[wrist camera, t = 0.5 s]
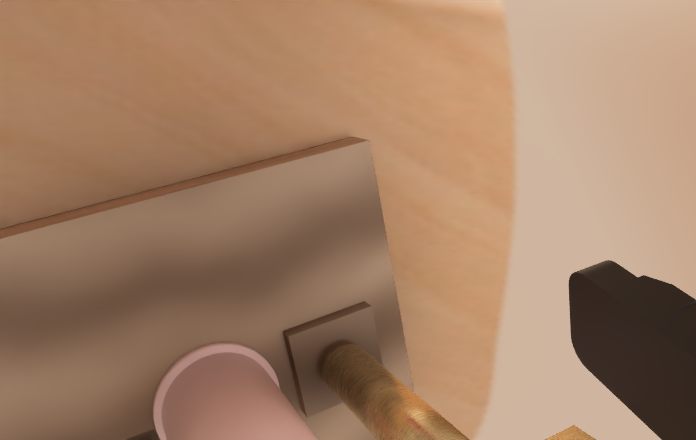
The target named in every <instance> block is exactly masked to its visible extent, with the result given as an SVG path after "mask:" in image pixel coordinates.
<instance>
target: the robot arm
mask: <svg viewBox="0 0 696 440" xmlns="http://www.w3.org/2000/svg"><path fill="white" fill-rule="evenodd" d="M569 301H570V323H571V339H572V343H573V347H574V349H575V352H576V354H577V356H578V357H579V359H580V361H581V362H582V363H583V365H584V366H585V367H586V368H587V369H588V370H589V371H590V372H591V373H592V374H593V375H594V376H596V378H597V379H598V380H599V381H601V382H602V383H603V384H604V385H605V386H606V387H607V388H608V389H609V390H610V391H611V392H612V393H613V394H614V395H615V396H616V397H618V399H620V400H621V401H622V402H623V403H624V404H625V405H626V406H627V407H628V408H629V409H630V410H631V411H632V412H633V413H634V414H635V415H636V416H637V417H638V418H640V419H641V420H642V421H643V422H644V423H645V424H646V425H647V426H648V427H649V428H650V429H651V430H652V431H653V432H654V433H655V434H656V435H657V436H659V437H660V438H661V439H662V440H696V300H695V299H694V298H692V297H691V296H689V295H688V294H686V293H685V292H683V291H682V290H680V289H678V288H677V287H675V286H674V285H672V284H669V283H666V282H663V281H659V280H657V279H653V278H650V277H647V276H644V275H643V276H641V277H638V278H637V277H636V276H635V275H633V274H632V273H630V272H629V271H627V270H625V269H624V268H623V267H621V266H620V265H618V264H617V263H615V262H613V261H609V260H608V261H604V262H601V263H599V264H596V265H593V266H591V267H588V268H585V269H583V270H580V271H577V272H575V273H573V274H572V275H571V276H570V279H569ZM125 440H160V438H159V436H158V434H157V433H156V431H155V430H154V429H152V430H149V431H146V432H144V433H141V434H138V435H136V436H133V437H130V438H128V439H125Z"/></svg>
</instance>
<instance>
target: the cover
mask: <svg viewBox="0 0 696 440" xmlns="http://www.w3.org/2000/svg"><path fill="white" fill-rule="evenodd" d="M152 411H153V420H154V424H155V428H156V431H157V433H158V436H159V438H160V440H318V439H317V438H316V436H315V435H314V434H313V432H312V431H311V430H310V428H309V427H308V426H307V424H306V423H305V422H304V420H303V419H302V418H301V416H300V415H299V414H298V412H297V411H296V410H295V408H294V407H293V406H292V404H291V403H290V402H289V400H288V399H287V398H286V397H285V395H284V394H283V393H282V391H281V390H280V387H279V382H278V379H277V376H276V374H275V372H274V370H273V369H272V367H271V366H270V364H269V363H268V362H267V360H266V359H265V358H264V357H263V356H262V355H261V354H260V353H258V352H257V351H256V350H254V349H253V348H251V347H249V346H246V345H244V344H241V343H236V342H228V341H222V342H213V343H208V344H205V345H201V346H199V347H197V348H194V349H192V350H191V351H189V352H187V353H185V354H184V355H183V356H181V357H180V358H179V359H177V360H176V361H175V362H174V363H173V364H172V365H171V366H170V367H169V369H168V370H167V371H166V372H165V374H164V375H163V377H162V378H161V380H160V382H159V384H158V386H157V389H156V392H155V395H154V399H153V408H152Z"/></svg>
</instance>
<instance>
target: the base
mask: <svg viewBox="0 0 696 440" xmlns="http://www.w3.org/2000/svg"><path fill="white" fill-rule="evenodd" d="M222 341H228V342H236V343H241V344H244V345H246V346H249V347H251V348H253V349H254V350H256V351H257V352H258V353H260V354H261V355H262V356H263V357H264V358H265V359H266V360H267V362H268V363H269V364H270V366H271V367H272V369H273V370H274V372H275V374H276V376H277V379H278V382H279V387H280V390H281V391H282V393H283V394H284V395H285V397H286V398H287V399H288V400H289V402H290V403H291V404H292V406H293V407H294V408H295V410H296V411H297V412H298V414H299V415H300V416H301V418H302V419H303V420H304V422H305V423H306V424H307V426H308V427H309V428H310V430H311V431H312V432H313V434H314V435H315V436H316V438H317V439H318V440H377V439H376V438H375V437H374V436H373V435H372V434H371V432H370V431H369V430H368V429H367V428H366V427H365V426H364V425H363V424H362V423H361V422H360V420H359V419H358V418H357V417H356V416H355V415H354V414H353V413H352V412H351V411H350V410H349V408H348V407H347V406H346V405H345V404H344V403H343V402H342V401H341V400H340V399H339V398H338V396H337V395H336V394H335V393H334V392H333V391H332V390H331V389H330V388H329V387H328V386H327V384H326V383H325V382H324V379H323V376H322V367H323V363H324V361H325V359H326V357H327V355H328V354H329V353H330V352H331V351H332V350H333V349H334V348H336V347H337V346H339V345H342V344H346V343H352V344H356V345H358V346H360V347H361V348H362V349H364V350H365V351H366V352H367V353H368V354H370V355H371V356H372V357H373V358H374V359H375V360H377V361H378V362H379V363H380V364H381V365H382V366H384V367H385V368H386V369H387V370H388V371H390V372H391V373H392V374H393V375H394V376H395V377H397V378H398V379H399V380H400V381H401V382H402V383H404V384H405V385H406V386H407V387H408V388H409V389H411V390H412V391H413V392H414V390H413V384H412V378H411V373H410V367H409V361H408V356H407V350H406V344H405V339H404V333H403V327H402V322H401V316H400V310H399V305H398V299H397V293H396V288H395V282H394V276H393V271H392V265H391V259H390V254H389V248H388V242H387V237H386V231H385V225H384V220H383V214H382V208H381V203H380V197H379V191H378V186H377V180H376V174H375V169H374V163H373V157H372V152H371V146H370V140H365V139H360V138H355V137H350V138H346V139H342V140H339V141H335V142H331V143H327V144H323V145H320V146H316V147H312V148H308V149H304V150H301V151H297V152H293V153H289V154H285V155H282V156H278V157H274V158H270V159H266V160H262V161H259V162H255V163H251V164H247V165H243V166H240V167H236V168H232V169H228V170H224V171H221V172H217V173H213V174H209V175H205V176H202V177H198V178H194V179H190V180H186V181H182V182H179V183H175V184H171V185H167V186H163V187H160V188H156V189H152V190H148V191H144V192H141V193H137V194H133V195H129V196H125V197H121V198H118V199H114V200H110V201H106V202H102V203H99V204H95V205H91V206H87V207H83V208H80V209H76V210H72V211H68V212H64V213H61V214H57V215H53V216H49V217H45V218H41V219H38V220H34V221H30V222H26V223H22V224H19V225H15V226H11V227H7V228H3V229H0V440H125V439H128V438H130V437H133V436H136V435H138V434H141V433H144V432H146V431H149V430H152V429H154V430H155V431H156V428H155V424H154V420H153V411H152V408H153V399H154V395H155V392H156V389H157V386H158V384H159V382H160V380H161V378H162V377H163V375H164V374H165V372H166V371H167V370H168V369H169V367H170V366H171V365H172V364H173V363H174V362H175V361H176V360H177V359H179V358H180V357H181V356H183V355H184V354H185V353H187V352H189V351H191V350H192V349H194V348H197V347H199V346H201V345H205V344H208V343H213V342H222ZM156 433H157V431H156ZM157 434H158V433H157Z"/></svg>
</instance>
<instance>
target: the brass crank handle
mask: <svg viewBox="0 0 696 440" xmlns="http://www.w3.org/2000/svg"><path fill="white" fill-rule="evenodd" d="M322 376H323V379H324V382H325V383H326V384H327V386H328V387H329V388H330V389H331V390H332V391H333V392H334V393H335V394H336V395H337V396H338V398H339V399H340V400H341V401H342V402H343V403H344V404H345V405H346V406H347V407H348V408H349V410H350V411H351V412H352V413H353V414H354V415H355V416H356V417H357V418H358V419H359V420H360V422H361V423H362V424H363V425H364V426H365V427H366V428H367V429H368V430H369V431H370V432H371V434H372V435H373V436H374V437H375V438H376V439H377V440H469V439H468V438H467V437H466V436H465V435H464V434H462V433H461V432H460V431H459V430H458V429H456V428H455V427H454V426H453V425H452V424H451V423H449V422H448V421H447V420H446V419H445V418H444V417H442V416H441V415H440V414H439V413H438V412H436V411H435V410H434V409H433V408H432V407H431V406H429V405H428V404H427V403H426V402H425V401H424V400H422V399H421V398H420V397H419V396H418V395H417V394H415V393H414V392H413V391H412V390H411V389H409V388H408V387H407V386H406V385H405V384H404V383H402V382H401V381H400V380H399V379H398V378H397V377H395V376H394V375H393V374H392V373H391V372H390V371H388V370H387V369H386V368H385V367H384V366H382V365H381V364H380V363H379V362H378V361H377V360H375V359H374V358H373V357H372V356H371V355H370V354H368V353H367V352H366V351H365V350H364V349H362V348H361V347H360V346H358V345H356V344H352V343H346V344H342V345H339V346H337V347H336V348H334V349H333V350H332V351H331V352H330V353H329V354H328V355H327V357H326V359H325V361H324V363H323V367H322ZM546 440H596V439H594V438H592V437H591V436H590V435H588V434H587V433H585V432H584V431H582V430H581V429H579V428H578V427H576V426H574V425H573V426H571V427H569V428H568V429H565V430H564V431H561V432H559V433H557V434H556V435H553V436H552V437H549V438H548V439H546Z"/></svg>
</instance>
